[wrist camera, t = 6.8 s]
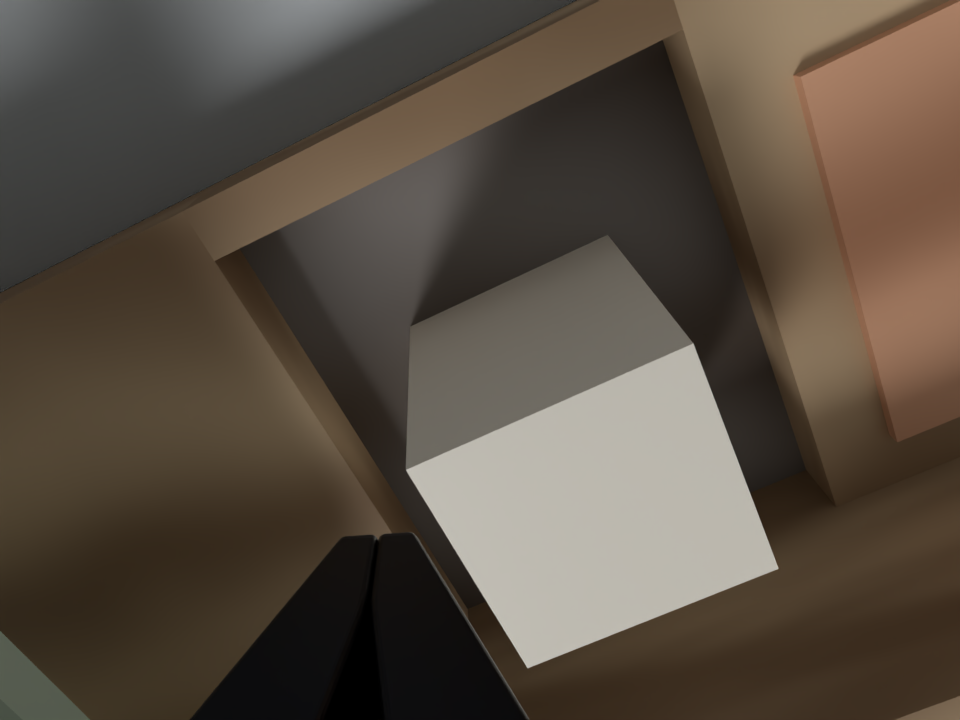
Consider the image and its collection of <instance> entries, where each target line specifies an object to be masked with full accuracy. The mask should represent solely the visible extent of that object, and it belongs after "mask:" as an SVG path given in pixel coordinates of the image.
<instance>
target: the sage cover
mask: <svg viewBox="0 0 960 720" xmlns="http://www.w3.org/2000/svg"><path fill="white" fill-rule="evenodd" d="M0 720H90V719H89V718H88V717H87V716H86V715H85V714H84V713H83V712H82V711H81V710H80V709H79V708H78V707H77V706H76V705H75V704H74V703H73V702H72V701H71V700H70V699H69V698H68V697H67V696H66V695H65V694H64V693H63V692H62V691H60V690H59V689H58V688H57V687H56V686H55V685H54V684H53V683H52V682H51V681H50V680H49V679H48V678H47V677H46V676H45V675H44V674H43V673H42V672H41V671H40V670H39V669H38V668H37V667H36V666H35V665H34V664H33V663H32V662H31V661H30V660H29V659H28V658H27V657H26V656H25V655H24V654H23V653H22V652H21V651H20V650H19V649H18V648H17V647H16V646H15V645H14V644H13V643H12V642H11V641H10V640H9V639H8V638H7V637H6V636H5V635H4V634H3V633H2V632H1V631H0Z"/></svg>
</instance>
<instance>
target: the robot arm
mask: <svg viewBox="0 0 960 720" xmlns="http://www.w3.org/2000/svg"><path fill="white" fill-rule="evenodd" d="M190 720H530V719H529V718H528V716H527V714H526V713H525V711H524V709H523V708H522V706H521V705H520V703H519V701H518V700H517V698H516V696H515V695H514V693H513V692H512V690H511V688H510V687H509V685H508V683H507V682H506V680H505V679H504V677H503V675H502V674H501V672H500V670H499V669H498V667H497V666H496V664H495V662H494V661H493V659H492V657H491V656H490V654H489V653H488V651H487V649H486V648H485V646H484V645H483V643H482V641H481V640H480V638H479V636H478V635H477V633H476V632H475V630H474V628H473V627H472V625H471V623H470V622H469V620H468V619H467V617H466V615H465V614H464V612H463V610H462V609H461V607H460V606H459V604H458V602H457V601H456V599H455V597H454V596H453V594H452V593H451V591H450V589H449V588H448V586H447V584H446V583H445V581H444V580H443V578H442V576H441V575H440V573H439V571H438V570H437V568H436V567H435V565H434V563H433V562H432V560H431V559H430V557H429V555H428V554H427V552H426V550H425V549H424V547H423V546H422V544H421V542H420V541H419V539H418V537H417V536H416V535H415V534H414V533H412V532H402V533H387V534H383V535H381V536H380V537H379V539H377V537H376V536H374V535H356V536H345V537H342V538H341V539H339V540H338V542H337V543H336V544H335V545H334V546H333V548H332V549H331V550H330V551H329V552H328V554H327V555H326V556H325V557H324V558H323V560H322V561H321V562H320V563H319V564H318V566H317V567H316V568H315V569H314V570H313V572H312V573H311V574H310V575H309V576H308V578H307V579H306V580H305V581H304V582H303V584H302V585H301V586H300V587H299V588H298V590H297V591H296V592H295V593H294V594H293V596H292V597H291V598H290V599H289V600H288V602H287V603H286V604H285V605H284V607H283V608H282V609H281V610H280V611H279V613H278V614H277V615H276V616H275V617H274V619H273V620H272V621H271V622H270V623H269V625H268V626H267V627H266V628H265V629H264V631H263V632H262V633H261V634H260V635H259V637H258V638H257V639H256V640H255V641H254V643H253V644H252V645H251V646H250V647H249V649H248V650H247V651H246V652H245V653H244V655H243V656H242V657H241V658H240V659H239V661H238V662H237V663H236V664H235V665H234V667H233V668H232V669H231V670H230V671H229V673H228V674H227V675H226V676H225V677H224V679H223V680H222V681H221V682H220V683H219V685H218V686H217V687H216V688H215V689H214V691H213V692H212V693H211V694H210V696H209V697H208V698H207V699H206V700H205V702H204V703H203V704H202V705H201V706H200V708H199V709H198V710H197V711H196V712H195V714H194V715H193V716H192V717H191V718H190Z"/></svg>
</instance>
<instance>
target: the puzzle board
mask: <svg viewBox="0 0 960 720" xmlns="http://www.w3.org/2000/svg"><path fill="white" fill-rule="evenodd" d="M606 235H608V236H609V237H610V238H611V240H612V241H613V242H614V243H615V245H616V246H617V247H618V249H619V250H620V251H621V252H622V254H623V255H624V256H625V257H626V259H627V260H628V261H629V262H630V264H631V265H632V266H633V268H634V269H635V270H636V271H637V273H638V274H639V275H640V276H641V278H642V279H643V280H644V282H645V283H646V284H647V285H648V287H649V288H650V289H651V290H652V292H653V293H654V294H655V295H656V297H657V298H658V299H659V301H660V302H661V303H662V304H663V306H664V307H665V308H666V309H667V311H668V312H669V313H670V314H671V316H672V317H673V318H674V320H675V321H676V322H677V323H678V325H679V326H680V327H681V328H682V330H683V331H684V332H685V334H686V335H687V336H688V337H689V339H690V340H691V341H692V342H693V344H694V347H695V349H696V352H697V354H698V357H699V360H700V362H701V365H702V368H703V370H704V373H705V376H706V378H707V381H708V383H709V386H710V389H711V391H712V394H713V397H714V399H715V402H716V405H717V407H718V410H719V412H720V415H721V418H722V420H723V423H724V426H725V428H726V431H727V434H728V436H729V439H730V441H731V444H732V447H733V449H734V452H735V455H736V457H737V460H738V463H739V465H740V468H741V471H742V473H743V476H744V478H745V481H746V484H747V486H748V489H749V492H750V494H751V497H752V500H753V502H754V505H755V507H756V510H757V513H758V515H759V518H760V521H761V523H762V526H763V529H764V531H765V534H766V536H767V539H768V542H769V544H770V547H771V550H772V552H773V555H774V558H775V560H776V563H777V565H778V568H779V569H777V570H774V571H772V572H769V573H767V574H764V575H762V576H759V577H757V578H754V579H752V580H749V581H746V582H744V583H741V584H739V585H736V586H734V587H731V588H729V589H726V590H724V591H721V592H719V593H716V594H714V595H711V596H709V597H706V598H704V599H701V600H699V601H696V602H694V603H691V604H689V605H686V606H683V607H681V608H678V609H676V610H673V611H671V612H668V613H666V614H663V615H661V616H658V617H656V618H653V619H651V620H648V621H646V622H643V623H641V624H638V625H636V626H633V627H631V628H628V629H626V630H623V631H620V632H618V633H615V634H613V635H610V636H608V637H605V638H603V639H600V640H598V641H595V642H593V643H590V644H588V645H585V646H583V647H580V648H578V649H575V650H573V651H570V652H568V653H565V654H562V655H560V656H557V657H555V658H552V659H550V660H547V661H545V662H542V663H540V664H537V665H535V666H532V667H530V668H527V667H526V665H525V663H524V662H523V660H522V658H521V657H520V655H519V654H518V652H517V650H516V649H515V647H514V645H513V644H512V642H511V640H510V639H509V637H508V636H507V634H506V632H505V631H504V629H503V627H502V626H501V624H500V623H499V621H498V619H497V618H496V616H495V614H494V613H493V611H492V610H491V608H490V606H489V605H488V603H487V601H486V600H485V598H484V597H483V595H482V593H481V592H480V590H479V588H478V587H477V585H476V584H475V582H474V580H473V579H472V577H471V575H470V574H469V572H468V570H467V569H466V567H465V566H464V564H463V562H462V561H461V559H460V557H459V556H458V554H457V553H456V551H455V549H454V548H453V546H452V544H451V543H450V541H449V540H448V538H447V536H446V535H445V533H444V531H443V530H442V528H441V527H440V525H439V523H438V522H437V520H436V518H435V517H434V515H433V513H432V512H431V510H430V509H429V507H428V505H427V504H426V502H425V500H424V499H423V497H422V496H421V494H420V492H419V491H418V489H417V487H416V486H415V484H414V483H413V481H412V479H411V478H410V476H409V474H408V473H407V471H406V447H407V415H408V383H409V351H410V326H413V325H415V324H417V323H419V322H421V321H423V320H425V319H428V318H430V317H432V316H434V315H436V314H438V313H441V312H443V311H445V310H447V309H449V308H451V307H453V306H456V305H458V304H460V303H462V302H464V301H466V300H468V299H471V298H473V297H475V296H477V295H479V294H481V293H484V292H486V291H488V290H490V289H492V288H494V287H496V286H499V285H501V284H503V283H505V282H507V281H509V280H511V279H514V278H516V277H518V276H520V275H522V274H524V273H527V272H529V271H531V270H533V269H535V268H537V267H539V266H542V265H544V264H546V263H548V262H550V261H552V260H554V259H557V258H559V257H561V256H563V255H565V254H567V253H570V252H572V251H574V250H576V249H578V248H580V247H582V246H585V245H587V244H589V243H591V242H593V241H595V240H597V239H600V238H602V237H604V236H606ZM402 532H412V533H414V534H415V535H416V536H417V537H418V539H419V541H420V542H421V544H422V546H423V547H424V549H425V550H426V552H427V554H428V555H429V557H430V559H431V560H432V562H433V563H434V565H435V567H436V568H437V570H438V571H439V573H440V575H441V576H442V578H443V580H444V581H445V583H446V584H447V586H448V588H449V589H450V591H451V593H452V594H453V596H454V597H455V599H456V601H457V602H458V604H459V606H460V607H461V609H462V610H463V612H464V614H465V615H466V617H467V619H468V620H469V622H470V623H471V625H472V627H473V628H474V630H475V632H476V633H477V635H478V636H479V638H480V640H481V641H482V643H483V645H484V646H485V648H486V649H487V651H488V653H489V654H490V656H491V657H492V659H493V661H494V662H495V664H496V666H497V667H498V669H499V670H500V672H501V674H502V675H503V677H504V679H505V680H506V682H507V683H508V685H509V687H510V688H511V690H512V692H513V693H514V695H515V696H516V698H517V700H518V701H519V703H520V705H521V706H522V708H523V709H524V711H525V713H526V714H527V716H528V718H529V719H530V720H960V0H577V1H575V2H573V3H571V4H569V5H567V6H565V7H563V8H561V9H559V10H557V11H555V12H553V13H551V14H549V15H547V16H545V17H543V18H541V19H539V20H537V21H535V22H533V23H531V24H529V25H527V26H525V27H523V28H521V29H519V30H517V31H515V32H514V33H512V34H510V35H508V36H506V37H504V38H502V39H500V40H498V41H496V42H494V43H492V44H490V45H488V46H486V47H484V48H482V49H480V50H478V51H476V52H474V53H472V54H470V55H468V56H466V57H464V58H462V59H460V60H458V61H456V62H454V63H452V64H450V65H448V66H447V67H445V68H443V69H441V70H439V71H437V72H435V73H433V74H431V75H429V76H427V77H425V78H423V79H421V80H419V81H417V82H415V83H413V84H411V85H409V86H407V87H405V88H403V89H401V90H399V91H397V92H395V93H393V94H391V95H389V96H387V97H385V98H383V99H381V100H380V101H378V102H376V103H374V104H372V105H370V106H368V107H366V108H364V109H362V110H360V111H358V112H356V113H354V114H352V115H350V116H348V117H346V118H344V119H342V120H340V121H338V122H336V123H334V124H332V125H330V126H328V127H326V128H324V129H322V130H320V131H318V132H316V133H315V134H313V135H311V136H309V137H307V138H305V139H303V140H301V141H299V142H297V143H295V144H293V145H291V146H289V147H287V148H285V149H283V150H281V151H279V152H277V153H275V154H273V155H271V156H269V157H267V158H265V159H263V160H261V161H259V162H257V163H255V164H253V165H251V166H249V167H248V168H246V169H244V170H242V171H240V172H238V173H236V174H234V175H232V176H230V177H228V178H226V179H224V180H222V181H220V182H218V183H216V184H214V185H212V186H210V187H208V188H206V189H204V190H202V191H200V192H198V193H196V194H194V195H192V196H190V197H188V198H186V199H184V200H182V201H181V202H179V203H177V204H175V205H173V206H171V207H169V208H167V209H165V210H163V211H161V212H159V213H157V214H155V215H153V216H151V217H149V218H147V219H145V220H143V221H141V222H139V223H137V224H135V225H133V226H131V227H129V228H127V229H125V230H123V231H121V232H119V233H117V234H116V235H114V236H112V237H110V238H108V239H106V240H104V241H102V242H100V243H98V244H96V245H94V246H92V247H90V248H88V249H86V250H84V251H82V252H80V253H78V254H76V255H74V256H72V257H70V258H68V259H66V260H64V261H62V262H60V263H58V264H56V265H54V266H52V267H50V268H49V269H47V270H45V271H43V272H41V273H39V274H37V275H35V276H33V277H31V278H29V279H27V280H25V281H23V282H21V283H19V284H17V285H15V286H13V287H11V288H9V289H7V290H5V291H3V292H1V293H0V631H1V632H2V633H3V634H4V635H5V636H6V637H7V638H8V639H9V640H10V641H11V642H12V643H13V644H14V645H15V646H16V647H17V648H18V649H19V650H20V651H21V652H22V653H23V654H24V655H25V656H26V657H27V658H28V659H29V660H30V661H31V662H32V663H33V664H34V665H35V666H36V667H37V668H38V669H39V670H40V671H41V672H42V673H43V674H44V675H45V676H46V677H47V678H48V679H49V680H50V681H51V682H52V683H53V684H54V685H55V686H56V687H57V688H58V689H59V690H60V691H62V692H63V693H64V694H65V695H66V696H67V697H68V698H69V699H70V700H71V701H72V702H73V703H74V704H75V705H76V706H77V707H78V708H79V709H80V710H81V711H82V712H83V713H84V714H85V715H86V716H87V717H88V718H89V719H90V720H190V718H191V717H192V716H193V715H194V714H195V712H196V711H197V710H198V709H199V708H200V706H201V705H202V704H203V703H204V702H205V700H206V699H207V698H208V697H209V696H210V694H211V693H212V692H213V691H214V689H215V688H216V687H217V686H218V685H219V683H220V682H221V681H222V680H223V679H224V677H225V676H226V675H227V674H228V673H229V671H230V670H231V669H232V668H233V667H234V665H235V664H236V663H237V662H238V661H239V659H240V658H241V657H242V656H243V655H244V653H245V652H246V651H247V650H248V649H249V647H250V646H251V645H252V644H253V643H254V641H255V640H256V639H257V638H258V637H259V635H260V634H261V633H262V632H263V631H264V629H265V628H266V627H267V626H268V625H269V623H270V622H271V621H272V620H273V619H274V617H275V616H276V615H277V614H278V613H279V611H280V610H281V609H282V608H283V607H284V605H285V604H286V603H287V602H288V600H289V599H290V598H291V597H292V596H293V594H294V593H295V592H296V591H297V590H298V588H299V587H300V586H301V585H302V584H303V582H304V581H305V580H306V579H307V578H308V576H309V575H310V574H311V573H312V572H313V570H314V569H315V568H316V567H317V566H318V564H319V563H320V562H321V561H322V560H323V558H324V557H325V556H326V555H327V554H328V552H329V551H330V550H331V549H332V548H333V546H334V545H335V544H336V543H337V542H338V540H339V539H341V538H342V537H345V536H356V535H374V536H376V537H377V539H379V537H380V536H381V535H383V534H387V533H402Z"/></svg>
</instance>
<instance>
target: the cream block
mask: <svg viewBox="0 0 960 720" xmlns="http://www.w3.org/2000/svg"><path fill="white" fill-rule="evenodd" d="M406 471H407V473H408V474H409V476H410V478H411V479H412V481H413V483H414V484H415V486H416V487H417V489H418V491H419V492H420V494H421V496H422V497H423V499H424V500H425V502H426V504H427V505H428V507H429V509H430V510H431V512H432V513H433V515H434V517H435V518H436V520H437V522H438V523H439V525H440V527H441V528H442V530H443V531H444V533H445V535H446V536H447V538H448V540H449V541H450V543H451V544H452V546H453V548H454V549H455V551H456V553H457V554H458V556H459V557H460V559H461V561H462V562H463V564H464V566H465V567H466V569H467V570H468V572H469V574H470V575H471V577H472V579H473V580H474V582H475V584H476V585H477V587H478V588H479V590H480V592H481V593H482V595H483V597H484V598H485V600H486V601H487V603H488V605H489V606H490V608H491V610H492V611H493V613H494V614H495V616H496V618H497V619H498V621H499V623H500V624H501V626H502V627H503V629H504V631H505V632H506V634H507V636H508V637H509V639H510V640H511V642H512V644H513V645H514V647H515V649H516V650H517V652H518V654H519V655H520V657H521V658H522V660H523V662H524V663H525V665H526V667H527V668H530V667H532V666H535V665H537V664H540V663H542V662H545V661H547V660H550V659H552V658H555V657H557V656H560V655H562V654H565V653H568V652H570V651H573V650H575V649H578V648H580V647H583V646H585V645H588V644H590V643H593V642H595V641H598V640H600V639H603V638H605V637H608V636H610V635H613V634H615V633H618V632H620V631H623V630H626V629H628V628H631V627H633V626H636V625H638V624H641V623H643V622H646V621H648V620H651V619H653V618H656V617H658V616H661V615H663V614H666V613H668V612H671V611H673V610H676V609H678V608H681V607H683V606H686V605H689V604H691V603H694V602H696V601H699V600H701V599H704V598H706V597H709V596H711V595H714V594H716V593H719V592H721V591H724V590H726V589H729V588H731V587H734V586H736V585H739V584H741V583H744V582H746V581H749V580H752V579H754V578H757V577H759V576H762V575H764V574H767V573H769V572H772V571H774V570H777V569H779V568H778V565H777V563H776V560H775V558H774V555H773V552H772V550H771V547H770V544H769V542H768V539H767V536H766V534H765V531H764V529H763V526H762V523H761V521H760V518H759V515H758V513H757V510H756V507H755V505H754V502H753V500H752V497H751V494H750V492H749V489H748V486H747V484H746V481H745V478H744V476H743V473H742V471H741V468H740V465H739V463H738V460H737V457H736V455H735V452H734V449H733V447H732V444H731V441H730V439H729V436H728V434H727V431H726V428H725V426H724V423H723V420H722V418H721V415H720V412H719V410H718V407H717V405H716V402H715V399H714V397H713V394H712V391H711V389H710V386H709V383H708V381H707V378H706V376H705V373H704V370H703V368H702V365H701V362H700V360H699V357H698V354H697V352H696V349H695V347H694V344H693V342H692V341H691V340H690V339H689V337H688V336H687V335H686V334H685V332H684V331H683V330H682V328H681V327H680V326H679V325H678V323H677V322H676V321H675V320H674V318H673V317H672V316H671V314H670V313H669V312H668V311H667V309H666V308H665V307H664V306H663V304H662V303H661V302H660V301H659V299H658V298H657V297H656V295H655V294H654V293H653V292H652V290H651V289H650V288H649V287H648V285H647V284H646V283H645V282H644V280H643V279H642V278H641V276H640V275H639V274H638V273H637V271H636V270H635V269H634V268H633V266H632V265H631V264H630V262H629V261H628V260H627V259H626V257H625V256H624V255H623V254H622V252H621V251H620V250H619V249H618V247H617V246H616V245H615V243H614V242H613V241H612V240H611V238H610V237H609V236H608V235H606V236H604V237H602V238H600V239H597V240H595V241H593V242H591V243H589V244H587V245H585V246H582V247H580V248H578V249H576V250H574V251H572V252H570V253H567V254H565V255H563V256H561V257H559V258H557V259H554V260H552V261H550V262H548V263H546V264H544V265H542V266H539V267H537V268H535V269H533V270H531V271H529V272H527V273H524V274H522V275H520V276H518V277H516V278H514V279H511V280H509V281H507V282H505V283H503V284H501V285H499V286H496V287H494V288H492V289H490V290H488V291H486V292H484V293H481V294H479V295H477V296H475V297H473V298H471V299H468V300H466V301H464V302H462V303H460V304H458V305H456V306H453V307H451V308H449V309H447V310H445V311H443V312H441V313H438V314H436V315H434V316H432V317H430V318H428V319H425V320H423V321H421V322H419V323H417V324H415V325H413V326H410V351H409V383H408V415H407V447H406Z"/></svg>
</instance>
